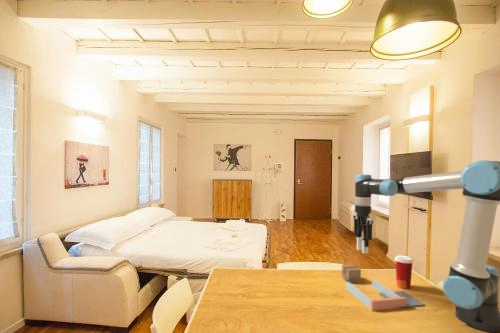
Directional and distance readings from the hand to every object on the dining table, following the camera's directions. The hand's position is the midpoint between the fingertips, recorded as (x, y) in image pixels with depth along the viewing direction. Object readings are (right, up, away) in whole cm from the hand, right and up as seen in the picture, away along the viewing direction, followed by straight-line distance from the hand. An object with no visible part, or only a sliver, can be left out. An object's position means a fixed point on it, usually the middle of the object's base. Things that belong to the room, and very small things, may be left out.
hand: (362, 251), depth 139 cm
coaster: (+13, -19, -12) cm, 26 cm away
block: (-2, -19, +10) cm, 21 cm away
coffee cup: (+22, -19, +2) cm, 29 cm away
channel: (+1, -19, -9) cm, 21 cm away
